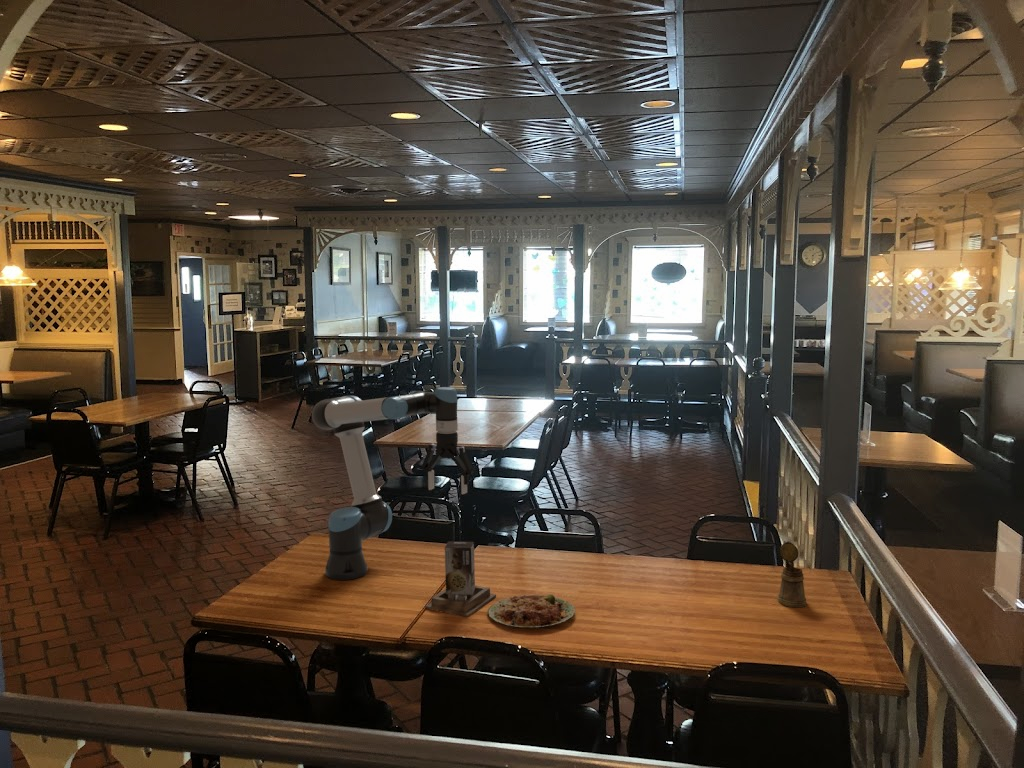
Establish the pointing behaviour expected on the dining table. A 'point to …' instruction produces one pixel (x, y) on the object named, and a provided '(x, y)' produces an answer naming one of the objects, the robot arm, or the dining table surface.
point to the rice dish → (531, 611)
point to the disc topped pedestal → (791, 578)
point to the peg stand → (461, 601)
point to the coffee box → (460, 568)
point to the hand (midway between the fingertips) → (447, 491)
